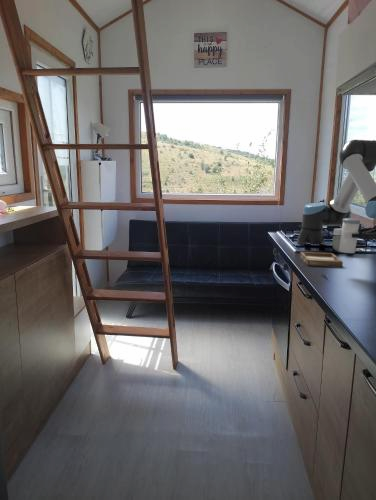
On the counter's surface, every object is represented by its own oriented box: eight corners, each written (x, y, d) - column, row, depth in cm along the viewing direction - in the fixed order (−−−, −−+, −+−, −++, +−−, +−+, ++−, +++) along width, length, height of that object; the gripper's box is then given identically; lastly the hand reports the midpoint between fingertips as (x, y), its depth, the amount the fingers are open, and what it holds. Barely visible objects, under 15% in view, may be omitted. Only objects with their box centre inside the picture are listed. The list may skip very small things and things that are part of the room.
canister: (335, 249, 172) (339, 218, 169) (348, 249, 174) (353, 218, 170) (344, 253, 166) (349, 221, 162) (358, 253, 168) (363, 221, 164)
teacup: (354, 254, 204) (356, 240, 202) (332, 253, 206) (334, 238, 204) (349, 248, 218) (351, 234, 216) (328, 247, 220) (330, 233, 218)
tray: (299, 256, 197) (300, 251, 197) (332, 258, 196) (332, 253, 196) (307, 265, 182) (307, 260, 181) (342, 267, 181) (342, 261, 180)
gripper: (399, 246, 164) (352, 247, 158) (368, 235, 182) (325, 236, 177) (402, 228, 162) (355, 229, 157) (370, 220, 180) (327, 220, 175)
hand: (339, 233), depth 167 cm, fingers closed on canister, 6 cm apart
